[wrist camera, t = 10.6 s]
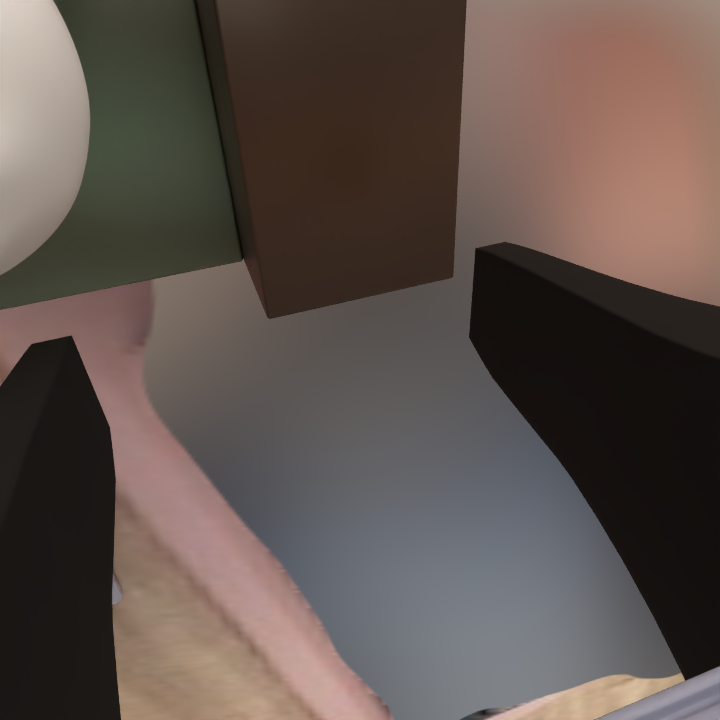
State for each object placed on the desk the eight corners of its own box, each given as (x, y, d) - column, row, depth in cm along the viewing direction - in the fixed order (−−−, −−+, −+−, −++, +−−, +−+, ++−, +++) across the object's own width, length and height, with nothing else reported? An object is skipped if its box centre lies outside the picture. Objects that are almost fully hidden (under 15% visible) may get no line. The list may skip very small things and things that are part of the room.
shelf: (369, 187, 21) (454, 278, 16) (-43, 262, 18) (-96, 403, 13) (344, -391, 13) (496, -567, 8) (-390, -420, 10) (-851, -719, 5)
